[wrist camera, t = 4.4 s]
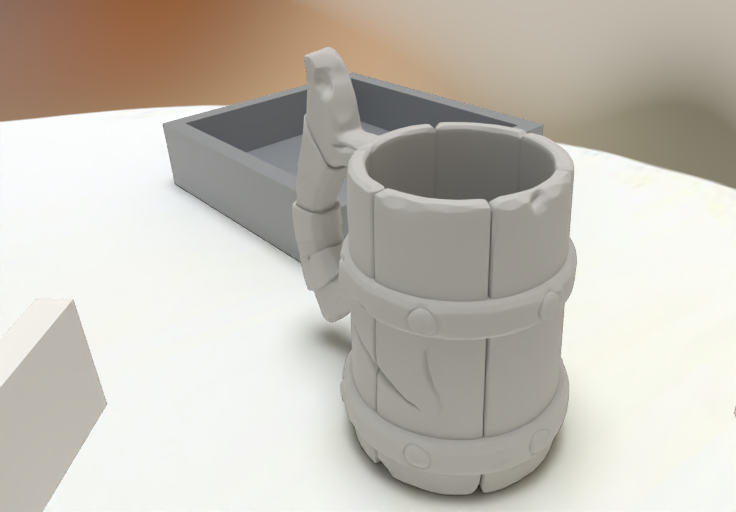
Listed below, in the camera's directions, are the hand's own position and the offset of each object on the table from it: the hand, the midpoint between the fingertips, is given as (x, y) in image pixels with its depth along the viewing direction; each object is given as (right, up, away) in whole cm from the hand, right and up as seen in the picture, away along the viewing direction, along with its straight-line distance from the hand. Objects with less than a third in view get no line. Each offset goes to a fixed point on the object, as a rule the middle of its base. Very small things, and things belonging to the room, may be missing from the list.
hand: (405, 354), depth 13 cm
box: (-2, +6, +28) cm, 29 cm away
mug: (+1, -3, +12) cm, 13 cm away
